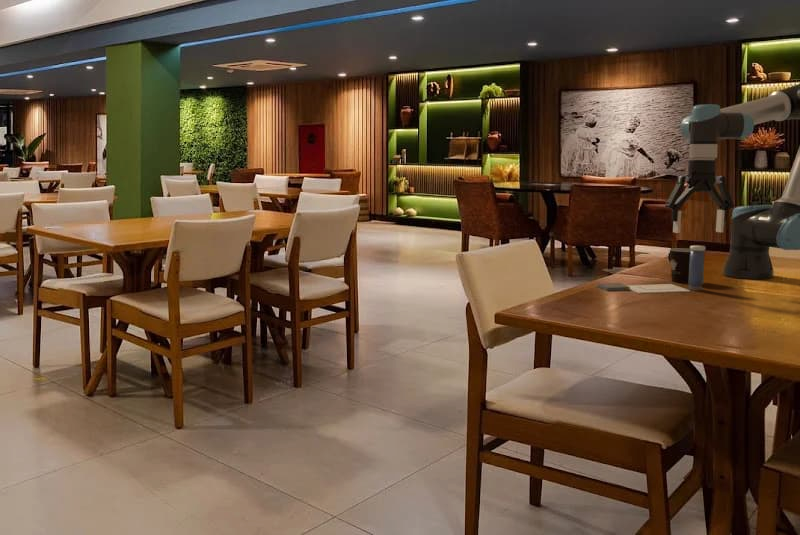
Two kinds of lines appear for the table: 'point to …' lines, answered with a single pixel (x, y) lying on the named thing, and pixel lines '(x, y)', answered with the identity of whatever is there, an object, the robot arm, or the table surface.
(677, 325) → the table surface
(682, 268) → the coffee mug
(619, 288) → the coaster
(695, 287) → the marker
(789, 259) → the table surface
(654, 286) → the paper
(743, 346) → the table surface
